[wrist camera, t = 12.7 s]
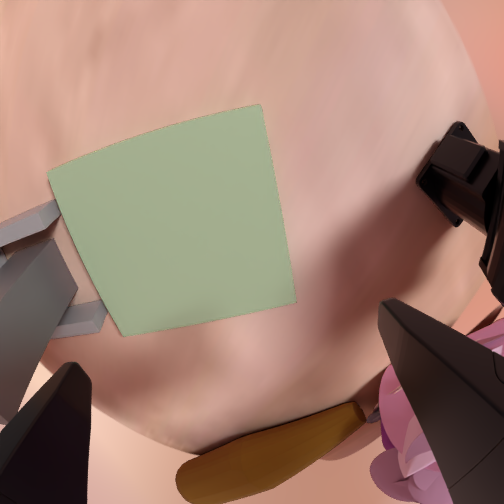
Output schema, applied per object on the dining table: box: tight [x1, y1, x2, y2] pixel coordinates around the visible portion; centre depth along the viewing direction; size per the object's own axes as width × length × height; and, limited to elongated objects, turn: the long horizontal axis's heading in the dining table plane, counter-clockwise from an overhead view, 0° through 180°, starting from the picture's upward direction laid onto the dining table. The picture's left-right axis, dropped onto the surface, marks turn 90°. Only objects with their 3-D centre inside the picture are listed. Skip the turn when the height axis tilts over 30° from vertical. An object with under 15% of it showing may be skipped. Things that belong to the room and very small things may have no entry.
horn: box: [175, 402, 366, 504], centre depth 32 cm, size 8×10×25 cm
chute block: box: [0, 238, 78, 425], centre depth 15 cm, size 4×4×13 cm
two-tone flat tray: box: [0, 104, 297, 339], centre depth 19 cm, size 23×14×2 cm, turn 102°
